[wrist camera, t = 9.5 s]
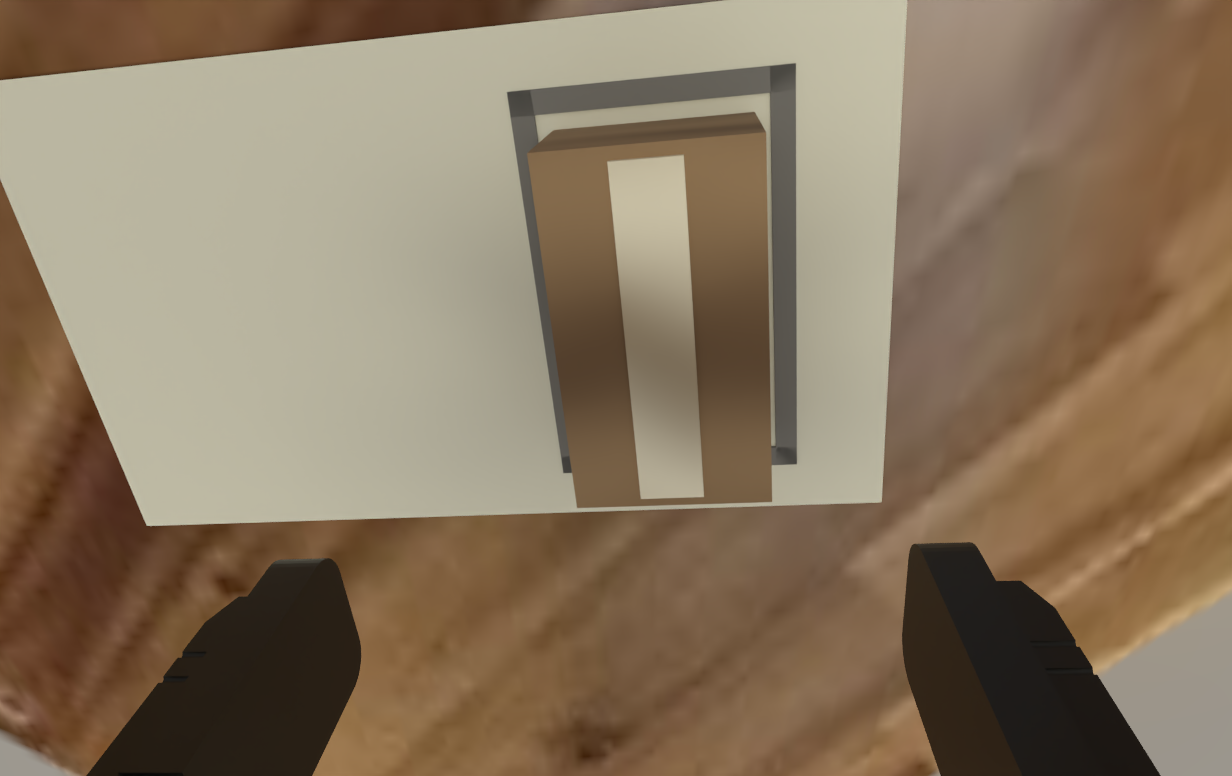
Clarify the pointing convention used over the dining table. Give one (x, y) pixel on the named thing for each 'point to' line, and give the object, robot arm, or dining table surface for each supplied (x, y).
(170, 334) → the mat
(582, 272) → the card box
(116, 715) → the dining table surface
